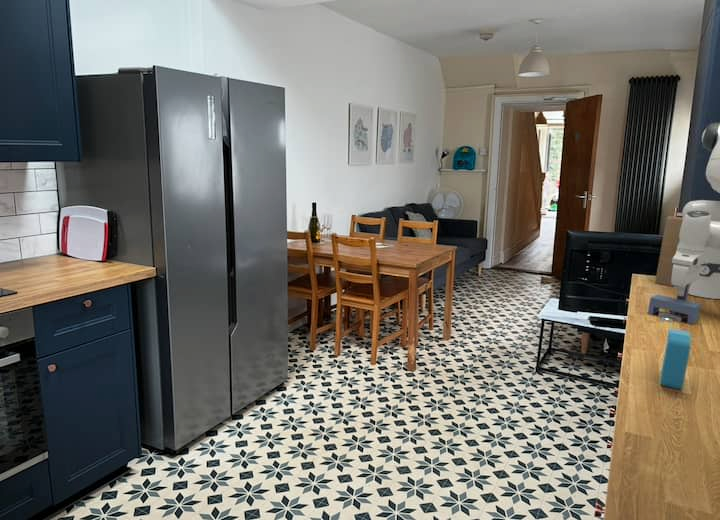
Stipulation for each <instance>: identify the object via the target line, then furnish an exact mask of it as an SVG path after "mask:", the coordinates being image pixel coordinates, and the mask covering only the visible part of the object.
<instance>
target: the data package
mask: <svg viewBox="0 0 720 520" xmlns="http://www.w3.org/2000/svg"><path fill="white" fill-rule="evenodd" d="M691 340H692V339H691V332H690V331H686V330H685V331H684V330H680V329H676V328H669V329H668V334H667V339H666V344H665V345H666V346H665V349H664V355H663V361H662V366H661V372H660V373H661V374H660V375H661V376H660V385H661V386H663V387H667V388H671V389H677V390H683V388H684V383H685V378H686V374H687V368H688V363H689V359H690V353H691V349H692V341H691Z"/></svg>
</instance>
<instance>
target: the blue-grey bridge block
mask: <svg viewBox="0 0 720 520" xmlns="http://www.w3.org/2000/svg"><path fill="white" fill-rule="evenodd" d="M701 307H702V303H698V302H695V301H689V300H687V301H685V300H680V299H677V298H676V297H670V296H666V295H661V294H655V295H653V296H651V297H650V298H649V305H648V310H647V314H648V315H652V316H653V315H654V314H656V313H659V312H660V309H662V310H667V311H669V310H670V311H675V312H679V313H683V314H688V315H689V316H687V323H686V324H688V323H689V325H694V324H695V323H697V322H698V321H699V318H700V313H701Z"/></svg>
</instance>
